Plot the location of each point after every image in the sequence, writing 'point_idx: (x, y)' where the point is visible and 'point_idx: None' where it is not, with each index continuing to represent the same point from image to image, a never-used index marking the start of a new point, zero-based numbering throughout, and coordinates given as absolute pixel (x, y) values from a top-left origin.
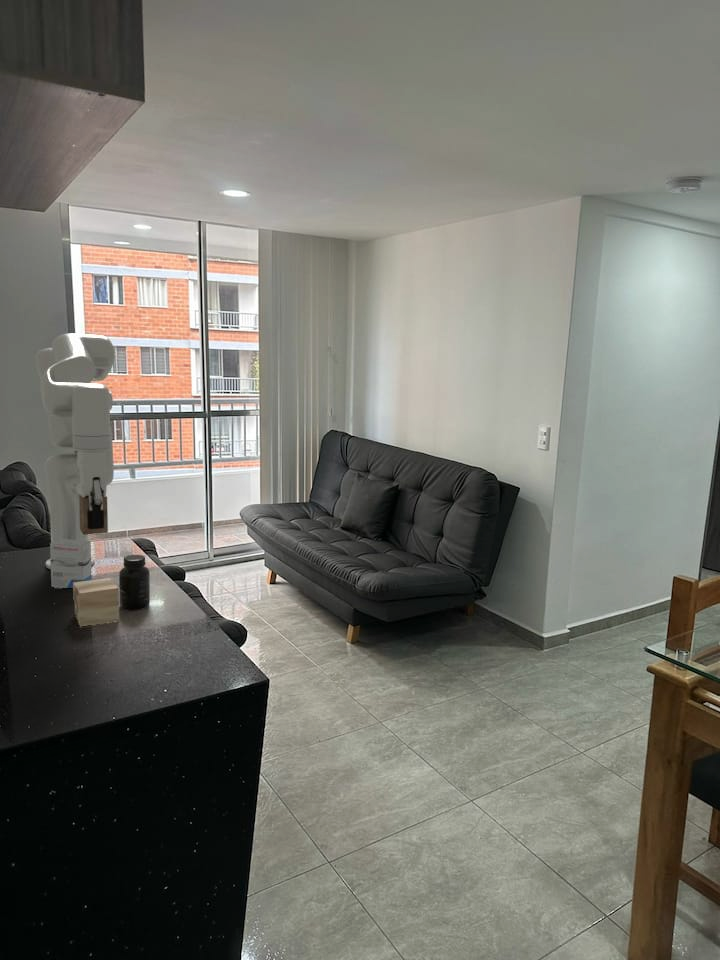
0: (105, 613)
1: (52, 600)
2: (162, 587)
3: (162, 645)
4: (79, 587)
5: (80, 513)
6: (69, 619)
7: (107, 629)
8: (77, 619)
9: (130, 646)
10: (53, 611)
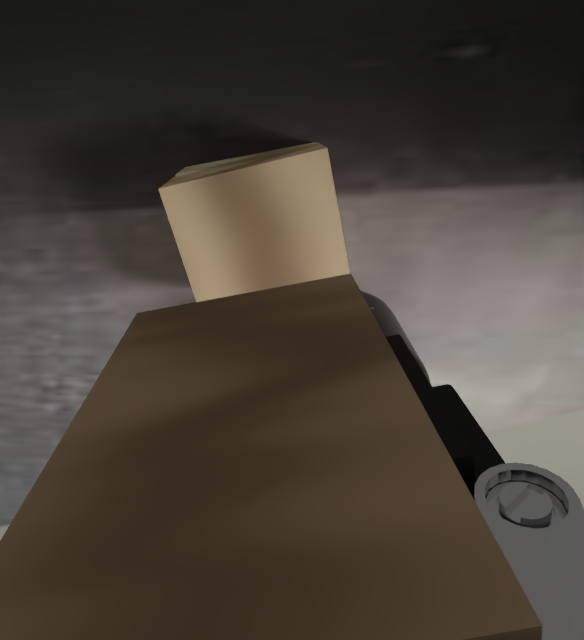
0: None
1: (508, 39)
2: (492, 408)
3: (14, 396)
4: (245, 183)
5: (301, 375)
6: (271, 124)
7: (153, 255)
8: (250, 155)
9: (9, 320)
10: (375, 53)
